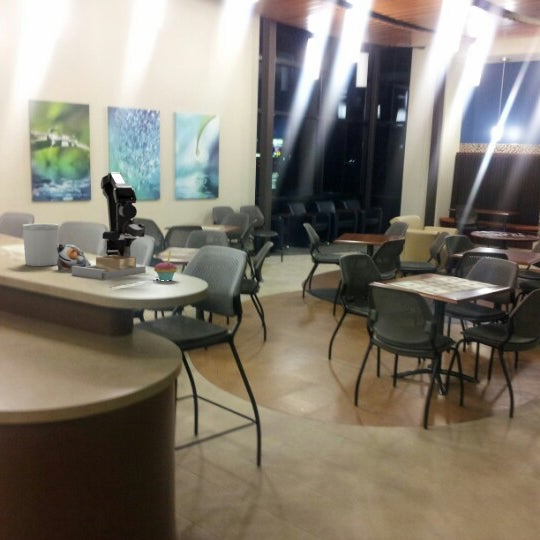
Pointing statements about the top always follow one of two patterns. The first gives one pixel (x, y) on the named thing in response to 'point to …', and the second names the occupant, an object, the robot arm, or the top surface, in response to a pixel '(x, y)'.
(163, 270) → the cupcake
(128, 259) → the crate
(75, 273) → the tray
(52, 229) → the utensil holder
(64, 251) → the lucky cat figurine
